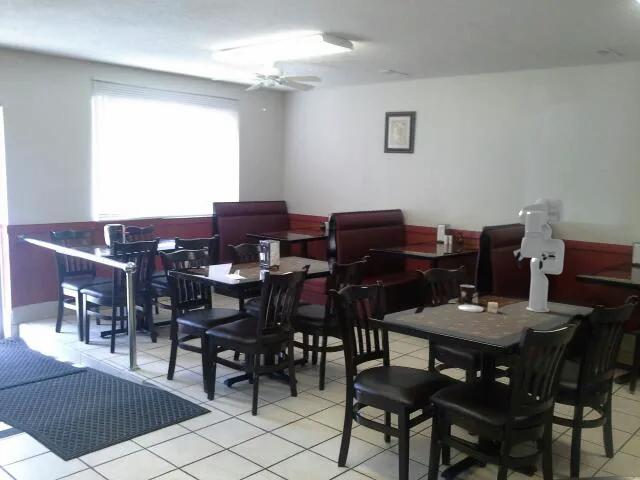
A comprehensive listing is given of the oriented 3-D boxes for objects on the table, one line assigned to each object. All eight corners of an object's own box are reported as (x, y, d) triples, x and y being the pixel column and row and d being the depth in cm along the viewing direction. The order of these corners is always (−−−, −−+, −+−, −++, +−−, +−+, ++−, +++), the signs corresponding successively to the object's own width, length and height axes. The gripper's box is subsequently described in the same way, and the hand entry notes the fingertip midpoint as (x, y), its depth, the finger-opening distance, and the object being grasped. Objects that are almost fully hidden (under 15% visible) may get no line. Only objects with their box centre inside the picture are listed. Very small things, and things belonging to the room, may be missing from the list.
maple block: (488, 310, 334) (489, 301, 333) (497, 311, 332) (498, 302, 331) (487, 312, 329) (487, 303, 329) (496, 313, 327) (497, 304, 327)
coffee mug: (456, 300, 359) (457, 284, 358) (468, 300, 361) (469, 284, 361) (466, 304, 348) (467, 288, 347) (479, 304, 350) (480, 288, 349)
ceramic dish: (460, 305, 344) (460, 303, 343) (484, 308, 338) (485, 306, 338) (456, 310, 331) (456, 308, 331) (481, 313, 325) (481, 311, 325)
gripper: (548, 235, 299) (546, 268, 301) (513, 234, 303) (511, 266, 305) (551, 237, 292) (549, 270, 294) (515, 235, 296) (513, 268, 297)
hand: (530, 268), depth 299 cm, fingers open, 9 cm apart
